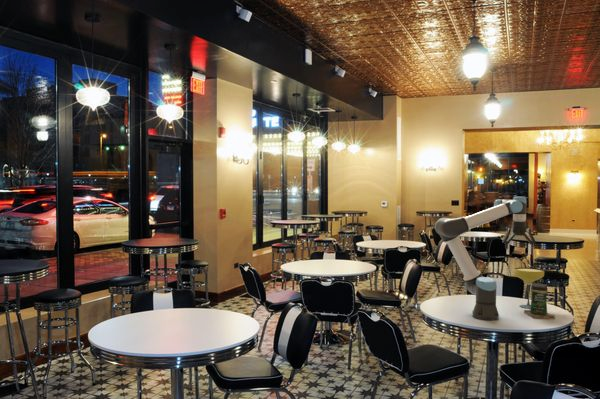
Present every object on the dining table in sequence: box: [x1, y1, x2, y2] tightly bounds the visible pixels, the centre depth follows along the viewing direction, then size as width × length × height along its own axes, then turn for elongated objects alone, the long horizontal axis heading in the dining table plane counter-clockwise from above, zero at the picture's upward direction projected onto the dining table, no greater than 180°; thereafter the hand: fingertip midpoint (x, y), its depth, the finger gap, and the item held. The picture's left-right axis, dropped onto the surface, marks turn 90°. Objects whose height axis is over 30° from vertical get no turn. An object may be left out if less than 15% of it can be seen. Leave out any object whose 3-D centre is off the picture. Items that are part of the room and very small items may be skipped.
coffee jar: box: [529, 282, 549, 315], centre depth 313 cm, size 10×8×19 cm
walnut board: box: [523, 309, 556, 319], centre depth 313 cm, size 13×13×2 cm
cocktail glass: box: [514, 267, 545, 310], centre depth 336 cm, size 18×18×25 cm
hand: (518, 254), depth 321 cm, fingers open, 13 cm apart
